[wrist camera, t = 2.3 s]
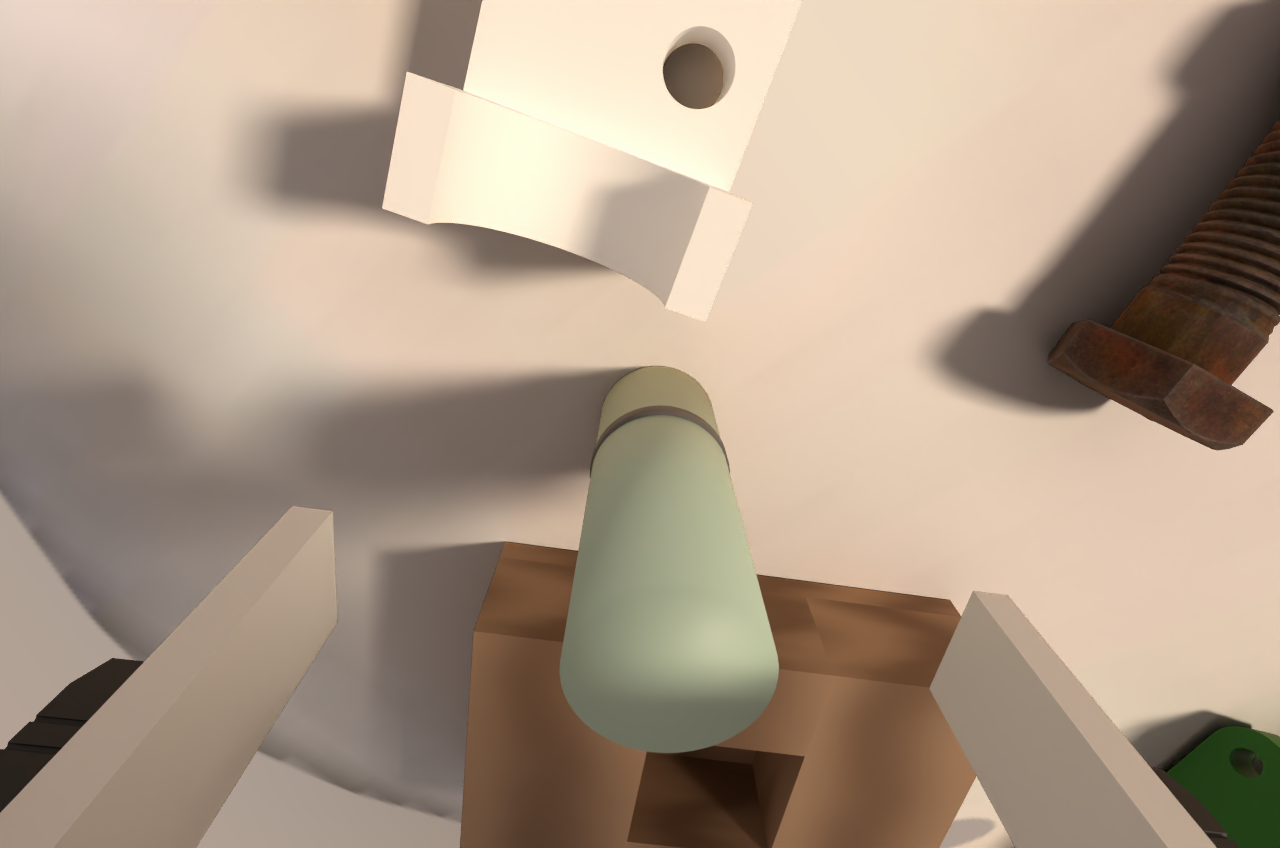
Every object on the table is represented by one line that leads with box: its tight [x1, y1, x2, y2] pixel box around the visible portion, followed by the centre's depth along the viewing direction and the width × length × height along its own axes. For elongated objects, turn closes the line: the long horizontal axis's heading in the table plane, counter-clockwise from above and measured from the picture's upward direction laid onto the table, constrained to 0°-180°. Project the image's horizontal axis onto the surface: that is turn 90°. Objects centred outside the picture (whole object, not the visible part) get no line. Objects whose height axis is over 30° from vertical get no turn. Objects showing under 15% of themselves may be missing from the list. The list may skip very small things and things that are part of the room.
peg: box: [560, 366, 779, 753], centre depth 17 cm, size 4×4×12 cm
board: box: [460, 542, 976, 848], centre depth 25 cm, size 18×13×5 cm
